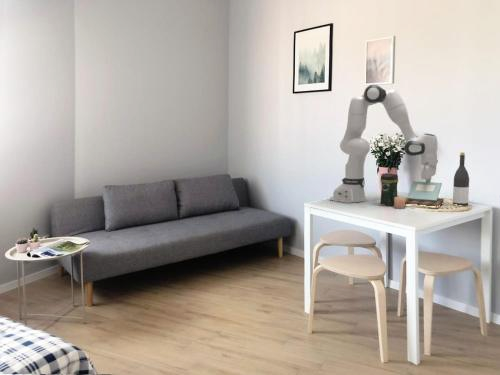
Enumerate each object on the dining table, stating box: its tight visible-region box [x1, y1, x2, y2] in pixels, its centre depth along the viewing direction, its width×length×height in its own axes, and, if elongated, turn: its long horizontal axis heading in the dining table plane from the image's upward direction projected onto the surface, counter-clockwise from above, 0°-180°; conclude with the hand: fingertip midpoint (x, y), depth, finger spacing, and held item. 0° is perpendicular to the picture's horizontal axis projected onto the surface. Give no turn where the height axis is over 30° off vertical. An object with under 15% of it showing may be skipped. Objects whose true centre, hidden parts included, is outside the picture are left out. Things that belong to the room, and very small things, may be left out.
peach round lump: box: [393, 195, 406, 210], centre depth 263 cm, size 6×6×6 cm
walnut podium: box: [405, 197, 445, 207], centre depth 268 cm, size 18×16×8 cm
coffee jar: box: [380, 172, 399, 207], centre depth 272 cm, size 10×8×19 cm
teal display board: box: [406, 181, 443, 202], centre depth 268 cm, size 16×14×1 cm
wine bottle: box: [452, 151, 470, 207], centre depth 263 cm, size 8×8×30 cm
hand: (428, 184), depth 275 cm, fingers closed
